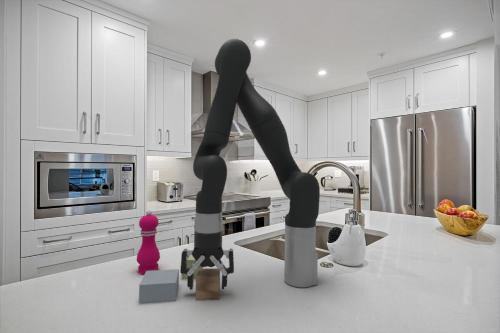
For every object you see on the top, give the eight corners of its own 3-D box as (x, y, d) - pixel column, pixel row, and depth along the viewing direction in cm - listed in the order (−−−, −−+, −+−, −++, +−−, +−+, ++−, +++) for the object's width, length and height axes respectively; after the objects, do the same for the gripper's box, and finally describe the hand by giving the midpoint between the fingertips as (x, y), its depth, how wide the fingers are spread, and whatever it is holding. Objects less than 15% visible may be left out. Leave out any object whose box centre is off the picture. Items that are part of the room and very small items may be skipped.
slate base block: (178, 286, 78) (178, 269, 78) (175, 301, 69) (176, 282, 69) (146, 288, 76) (146, 270, 76) (139, 304, 67) (139, 285, 67)
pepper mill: (134, 276, 83) (135, 212, 83) (138, 267, 90) (138, 208, 90) (159, 274, 85) (159, 211, 85) (160, 265, 92) (161, 208, 92)
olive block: (203, 271, 88) (203, 253, 88) (201, 279, 82) (201, 259, 82) (184, 271, 88) (185, 253, 88) (181, 279, 82) (181, 260, 82)
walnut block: (219, 289, 75) (220, 268, 75) (218, 300, 69) (219, 277, 69) (198, 289, 75) (198, 268, 75) (195, 300, 69) (195, 277, 69)
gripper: (234, 225, 76) (233, 281, 77) (184, 225, 76) (183, 282, 76) (234, 232, 69) (233, 294, 69) (179, 232, 68) (177, 295, 68)
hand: (207, 288), depth 72 cm, fingers open, 8 cm apart
